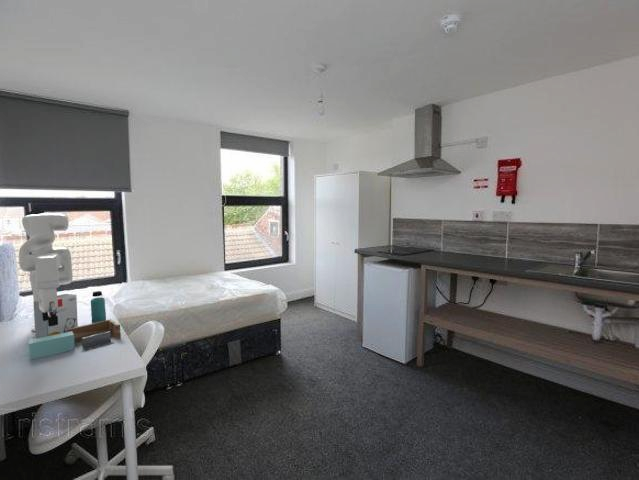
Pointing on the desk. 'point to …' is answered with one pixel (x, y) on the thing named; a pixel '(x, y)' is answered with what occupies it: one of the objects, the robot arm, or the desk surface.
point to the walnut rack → (96, 330)
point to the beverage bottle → (98, 308)
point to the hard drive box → (65, 317)
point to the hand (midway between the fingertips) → (50, 322)
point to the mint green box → (51, 345)
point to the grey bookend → (96, 341)
